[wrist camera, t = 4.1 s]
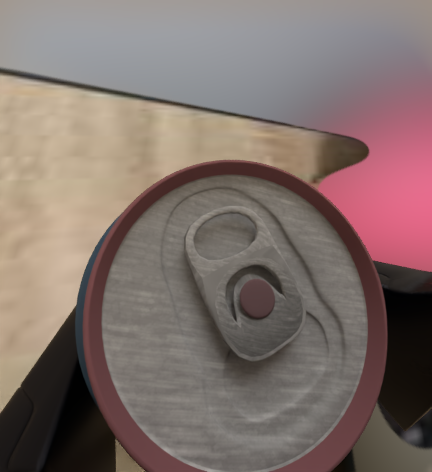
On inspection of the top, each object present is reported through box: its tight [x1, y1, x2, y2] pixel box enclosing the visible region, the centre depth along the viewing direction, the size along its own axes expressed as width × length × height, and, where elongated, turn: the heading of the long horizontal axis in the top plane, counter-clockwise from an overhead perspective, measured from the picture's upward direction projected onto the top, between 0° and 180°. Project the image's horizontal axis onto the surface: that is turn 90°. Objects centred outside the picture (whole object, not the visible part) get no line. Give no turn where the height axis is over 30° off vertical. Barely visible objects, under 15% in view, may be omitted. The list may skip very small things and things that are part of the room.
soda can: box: [75, 160, 387, 472], centre depth 9 cm, size 7×7×12 cm
